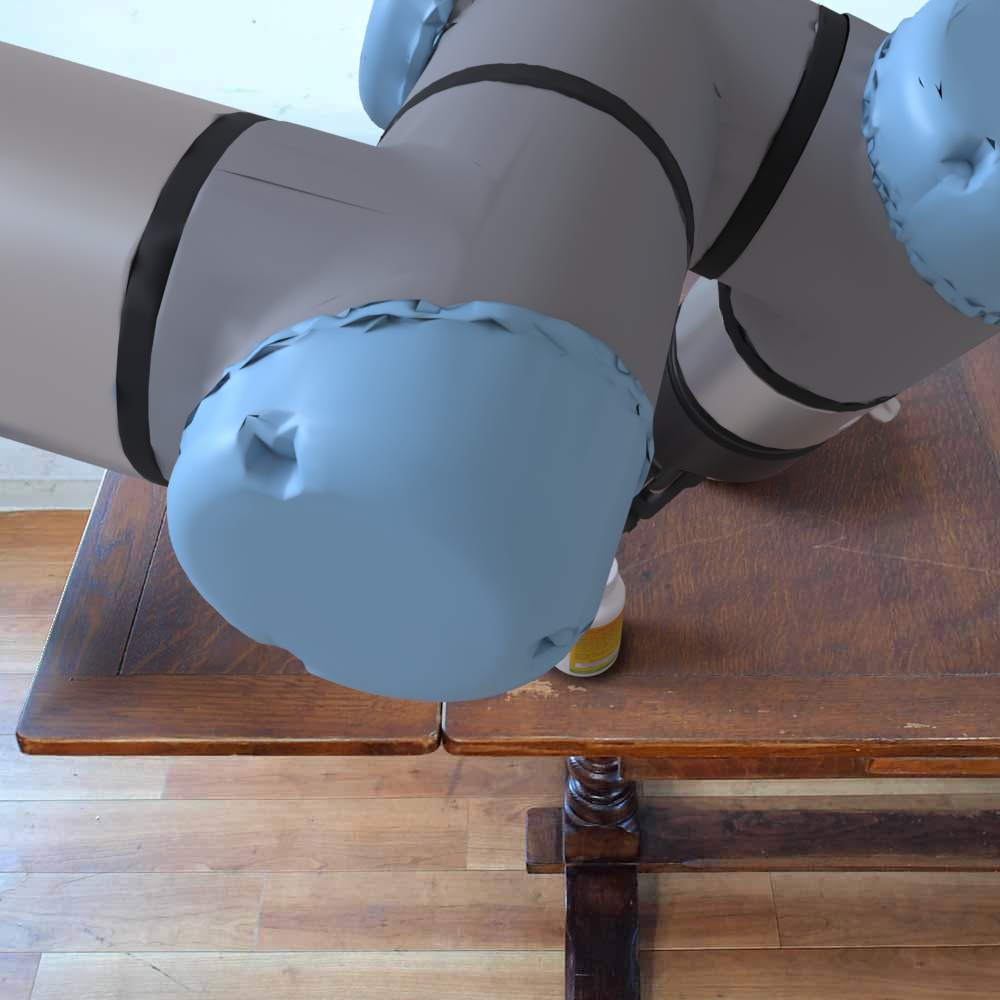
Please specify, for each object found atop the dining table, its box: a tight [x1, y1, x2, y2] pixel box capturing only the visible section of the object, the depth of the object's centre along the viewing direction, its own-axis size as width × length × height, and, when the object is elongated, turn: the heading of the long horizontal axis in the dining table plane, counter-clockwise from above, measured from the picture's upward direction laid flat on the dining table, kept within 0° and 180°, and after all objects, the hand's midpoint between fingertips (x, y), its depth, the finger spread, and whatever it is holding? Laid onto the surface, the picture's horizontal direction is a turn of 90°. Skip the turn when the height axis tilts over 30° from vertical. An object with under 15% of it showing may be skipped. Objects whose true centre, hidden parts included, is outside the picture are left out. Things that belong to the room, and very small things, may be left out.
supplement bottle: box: [554, 557, 627, 678], centre depth 71 cm, size 5×5×10 cm
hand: (599, 509), depth 58 cm, fingers open, 13 cm apart
